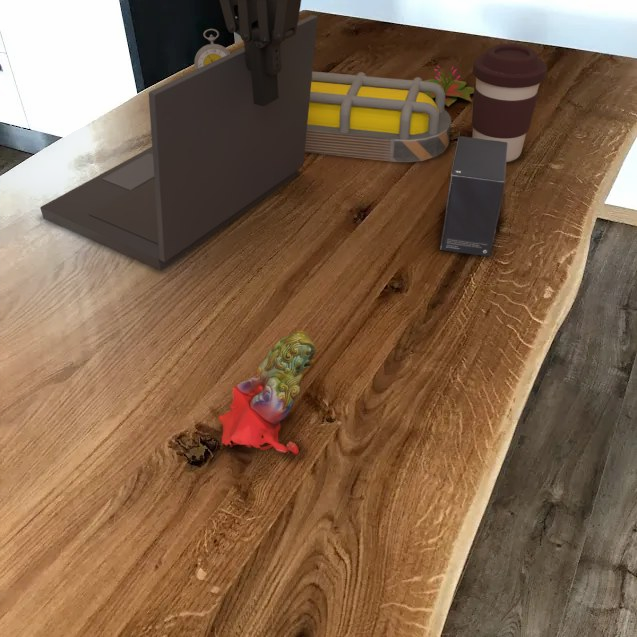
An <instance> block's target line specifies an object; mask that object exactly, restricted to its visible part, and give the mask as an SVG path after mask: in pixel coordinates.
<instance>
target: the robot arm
mask: <svg viewBox="0 0 637 637" xmlns="http://www.w3.org/2000/svg"><path fill="white" fill-rule="evenodd" d="M219 3H220V7H221V11H222V15H223V19H224V22H225V26H226V29H227V31H228V32H229V33H230V34H234V33H235V34H237V35H238V36H239V37H240V39H241V41H242V42H243V44H244V46H243V47H245V58H246V66H247V69H248V70H250V71H251V76H252V88H253V100H254V104H257V105H260V106H266V105H267V104H269V103H271V102H273V101H274V100H276V99H278V98H279V95H278V78H277V73H279V72H281V68H282V64H281V46H280V45H281V42H283V41H285V40H287V39H289V38H291V37H293V36H295V35H296V31H297V25H298V21H299V19H300V13H301V12H300V11H301V4H302V0H219Z"/></svg>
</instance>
